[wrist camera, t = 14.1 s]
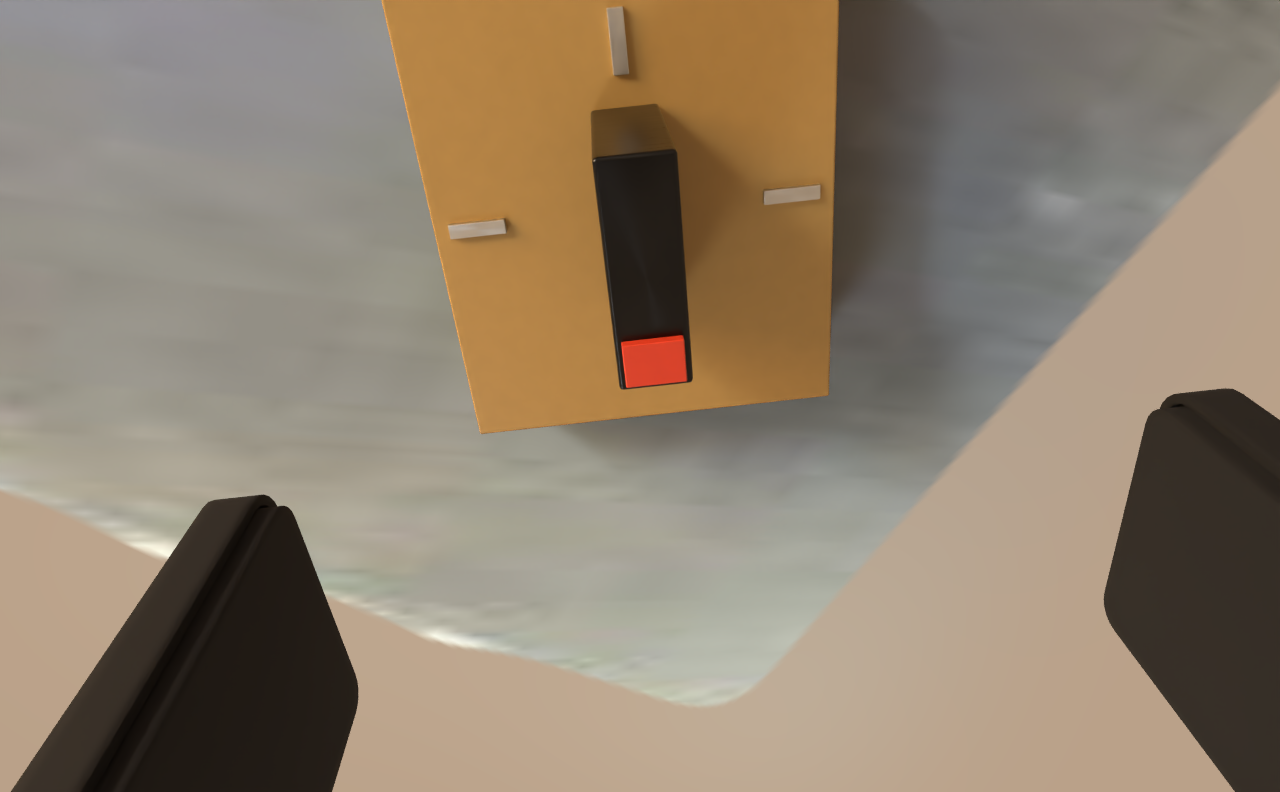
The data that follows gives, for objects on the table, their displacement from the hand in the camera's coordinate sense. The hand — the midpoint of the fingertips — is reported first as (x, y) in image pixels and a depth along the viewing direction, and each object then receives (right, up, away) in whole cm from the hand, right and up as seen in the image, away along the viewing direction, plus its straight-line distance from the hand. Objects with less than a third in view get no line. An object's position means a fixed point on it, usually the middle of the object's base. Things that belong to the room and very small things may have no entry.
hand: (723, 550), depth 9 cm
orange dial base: (-1, +8, +14) cm, 16 cm away
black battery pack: (-1, +6, +11) cm, 13 cm away
